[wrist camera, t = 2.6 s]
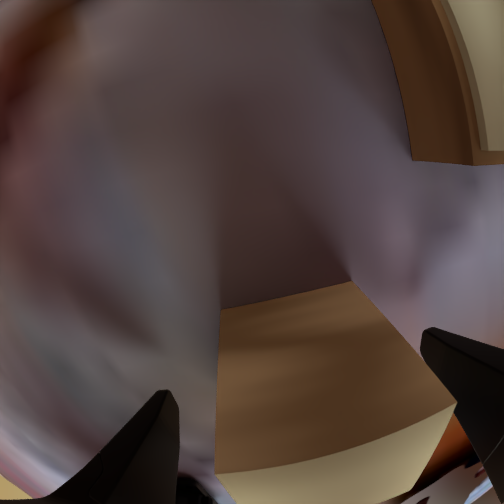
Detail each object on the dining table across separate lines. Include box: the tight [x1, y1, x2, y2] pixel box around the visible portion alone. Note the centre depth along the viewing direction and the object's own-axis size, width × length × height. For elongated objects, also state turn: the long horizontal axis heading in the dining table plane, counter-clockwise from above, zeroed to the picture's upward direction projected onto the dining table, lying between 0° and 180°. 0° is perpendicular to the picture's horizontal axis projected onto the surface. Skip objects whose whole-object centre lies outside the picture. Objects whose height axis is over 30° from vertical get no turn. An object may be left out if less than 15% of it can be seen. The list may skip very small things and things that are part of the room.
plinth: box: [371, 0, 504, 166], centre depth 5 cm, size 10×12×3 cm
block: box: [215, 281, 457, 504], centre depth 7 cm, size 4×4×6 cm
